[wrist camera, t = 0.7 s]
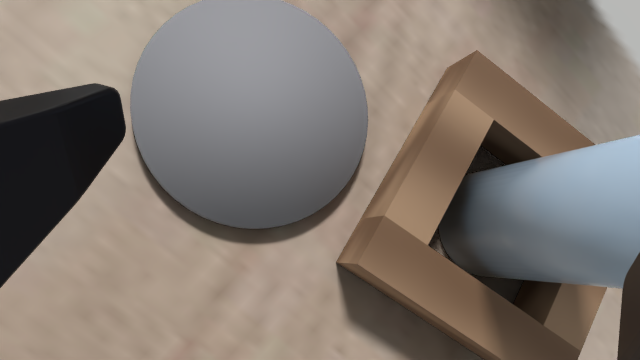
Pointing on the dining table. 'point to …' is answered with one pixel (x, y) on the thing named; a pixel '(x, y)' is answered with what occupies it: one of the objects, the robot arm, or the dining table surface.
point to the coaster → (248, 112)
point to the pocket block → (432, 202)
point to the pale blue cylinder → (550, 217)
